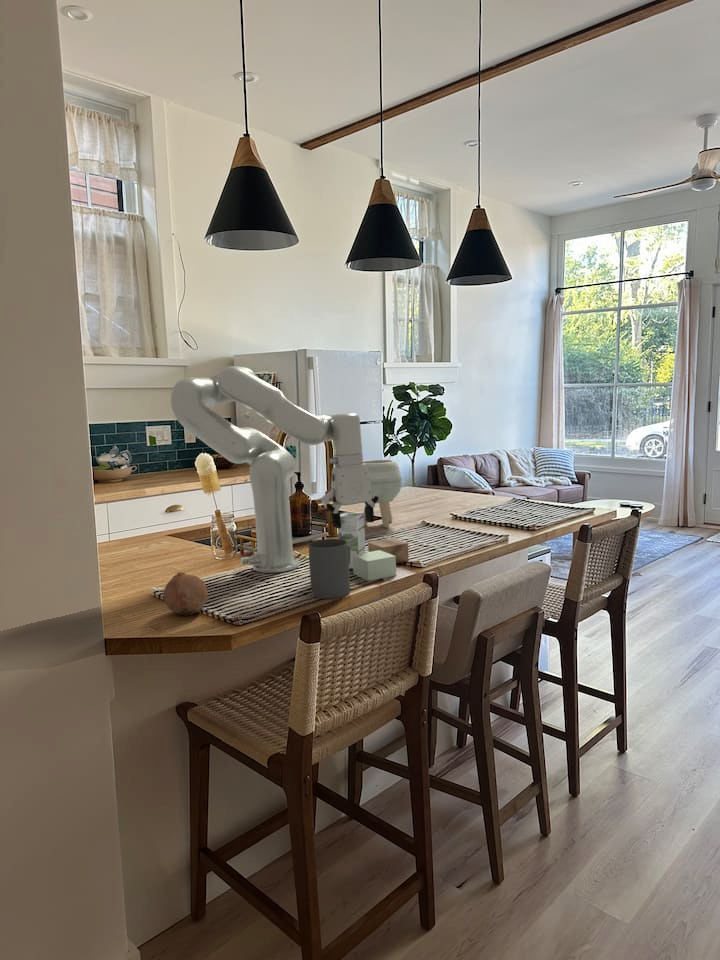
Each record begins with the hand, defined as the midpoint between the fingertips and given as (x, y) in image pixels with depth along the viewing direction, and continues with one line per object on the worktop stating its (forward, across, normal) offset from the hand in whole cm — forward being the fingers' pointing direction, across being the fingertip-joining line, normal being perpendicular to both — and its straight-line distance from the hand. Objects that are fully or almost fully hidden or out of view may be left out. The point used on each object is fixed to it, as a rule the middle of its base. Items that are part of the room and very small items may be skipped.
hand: (353, 524), depth 174 cm
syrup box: (+12, -1, +1) cm, 12 cm away
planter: (+12, +32, +44) cm, 55 cm away
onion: (+11, -48, -10) cm, 50 cm away
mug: (+12, -14, -15) cm, 24 cm away
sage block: (+12, 0, -9) cm, 15 cm away
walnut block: (+12, +10, +1) cm, 16 cm away
